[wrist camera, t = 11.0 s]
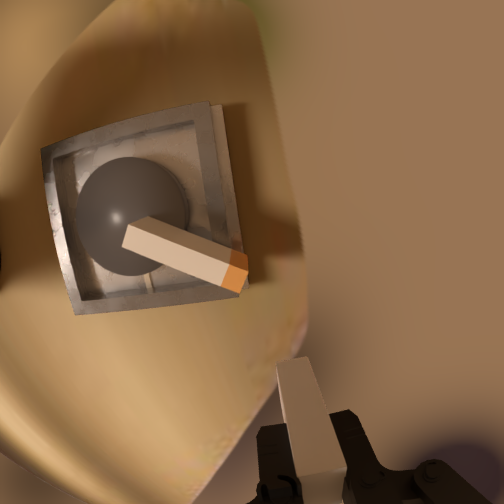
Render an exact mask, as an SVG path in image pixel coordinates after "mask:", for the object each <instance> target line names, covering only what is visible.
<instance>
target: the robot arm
mask: <svg viewBox="0 0 504 504" xmlns="http://www.w3.org/2000/svg"><path fill="white" fill-rule="evenodd" d="M0 268H1V256H0ZM276 370H277V377H278V385H279V393H280V400H281V407H282V412H283V418H284V423H283V424H276V425H269V426H262V427H261V428H260V430H259V432H258V434H257V436H256V438H257V451H258V465H259V478H260V482H259V483H258V484H257V489H256V492H257V496H256V497H255V499H253V500H252V501H250V502H249V503H247V504H340V503H342V499H343V502H344V504H492V503H491V502H490V501H488V500H487V499H486V498H485V497H484V496H483V495H482V494H480V493H479V492H478V491H477V490H476V489H475V488H474V487H472V486H471V485H470V484H469V483H468V482H467V481H466V480H464V479H463V478H462V477H461V476H460V475H459V474H458V473H457V472H456V471H455V470H453V469H452V468H451V467H450V466H449V465H448V464H447V463H445V462H443V461H442V460H437V459H432V460H427V461H425V462H422V463H421V464H420V465H419V466H418V467H417V468H416V469H414V470H403V471H393V470H389V469H387V468H385V467H383V466H382V465H381V464H380V463H379V461H378V460H377V458H376V456H375V453H374V451H373V449H372V447H371V444H370V442H369V440H368V438H367V436H366V435H365V432H364V430H363V428H362V425H361V423H360V421H359V418H358V416H356V415H355V414H354V413H353V412H352V411H350V410H349V409H348V410H344V411H340V412H336V413H332V414H328V411H327V408H326V406H325V403H324V400H323V397H322V395H321V392H320V389H319V386H318V384H317V381H316V378H315V375H314V373H313V370H312V367H311V364H310V362H309V359H308V357H302V358H296V359H290V360H284V361H278V362H276Z"/></svg>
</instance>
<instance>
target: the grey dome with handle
mask: <svg viewBox="0 0 504 504" xmlns="http://www.w3.org/2000/svg"><path fill="white" fill-rule="evenodd" d="M188 217H189V211H188V203H187V199H186V196H185V193H184V190H183V188H182V186H181V184H180V183H179V181H178V180H177V178H176V177H175V176H174V175H173V174H172V173H171V172H170V171H169V170H168V169H166V168H165V167H164V166H162V165H160V164H158V163H156V162H154V161H151V160H147V159H142V158H136V157H122V158H116V159H113V160H110V161H108V162H106V163H104V164H103V165H101V166H100V167H98V168H97V169H96V170H95V171H94V172H93V173H92V174H91V175H90V176H89V177H88V178H87V180H86V182H85V183H84V185H83V187H82V189H81V191H80V194H79V197H78V200H77V205H76V225H77V230H78V234H79V237H80V240H81V242H82V244H83V246H84V248H85V250H86V251H87V253H88V254H89V255H90V256H91V258H92V259H93V260H94V261H95V262H96V263H98V264H99V265H100V266H101V267H103V268H104V269H106V270H108V271H110V272H112V273H115V274H118V275H123V276H139V275H144V274H147V273H150V272H152V271H154V270H156V269H158V268H159V267H161V266H162V265H163V264H165V265H167V266H170V267H172V268H175V269H177V270H180V271H182V272H185V273H187V274H190V275H192V276H195V277H197V278H200V279H203V280H205V281H208V282H210V283H213V284H216V285H218V286H221V287H223V288H226V289H229V290H231V291H234V292H237V293H239V294H240V291H241V289H242V287H243V284H244V282H245V279H246V277H247V275H248V272H249V269H248V256H247V255H246V254H243V253H241V252H238V251H236V250H233V249H230V248H228V247H225V246H223V245H220V244H218V243H215V242H213V241H210V240H207V239H205V238H202V237H200V236H197V235H195V234H192V233H190V232H187V231H186V230H187V226H188Z"/></svg>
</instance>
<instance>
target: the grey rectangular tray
mask: <svg viewBox="0 0 504 504" xmlns="http://www.w3.org/2000/svg"><path fill="white" fill-rule="evenodd" d="M122 157H136V158H142V159H147V160H151V161H154V162H156V163H158V164H160V165H162V166H164V167H165V168H166V169H168V170H169V171H170V172H171V173H172V174H173V175H174V176H175V177H176V178H177V180H178V181H179V183H180V184H181V186H182V188H183V190H184V193H185V196H186V199H187V203H188V211H189V217H188V226H187V230H186V231H187V232H190V233H192V234H195V235H197V236H200V237H202V238H205V239H207V240H210V241H213V242H215V243H218V244H220V245H223V246H225V247H228V248H230V249H233V250H236V251H238V252H241V253H243V254H244V250H243V243H242V237H241V230H240V223H239V217H238V210H237V204H236V197H235V190H234V184H233V177H232V170H231V164H230V157H229V150H228V143H227V137H226V130H225V123H224V116H223V109H222V104H220V105H214V106H211V105H210V103H209V101H205V102H199V103H194V104H189V105H184V106H179V107H174V108H170V109H165V110H161V111H157V112H153V113H149V114H145V115H141V116H137V117H133V118H130V119H126V120H122V121H119V122H116V123H112V124H109V125H106V126H102V127H99V128H96V129H93V130H90V131H87V132H84V133H81V134H78V135H76V136H73V137H70V138H67V139H65V140H62V141H59V142H57V143H54V144H52V145H49V146H47V147H44V148H42V149H41V159H42V169H43V177H44V185H45V192H46V199H47V205H48V211H49V216H50V222H51V227H52V232H53V237H54V241H55V246H56V250H57V254H58V258H59V262H60V266H61V270H62V274H63V277H64V281H65V285H66V288H67V291H68V295H69V298H70V301H71V304H72V307H73V311H74V314H75V315H85V314H96V313H108V312H118V311H128V310H138V309H147V308H156V307H165V306H174V305H182V304H190V303H198V302H206V301H214V300H221V299H229V298H236V297H239V293H237V292H234V291H231V290H229V289H226V288H223V287H221V286H218V285H216V284H213V283H210V282H208V281H205V280H203V279H200V278H197V277H195V276H192V275H190V274H187V273H185V272H182V271H180V270H177V269H175V268H172V267H170V266H167V265H165V264H163V265H162V266H161V267H159V268H158V269H156V270H154V271H152V272H150V273H147V274H144V275H139V276H123V275H118V274H115V273H112V272H110V271H108V270H106V269H104V268H103V267H101V266H100V265H99V264H98V263H96V262H95V261H94V260H93V259H92V258H91V256H90V255H89V254H88V253H87V251H86V250H85V248H84V246H83V244H82V242H81V240H80V237H79V234H78V230H77V225H76V205H77V200H78V197H79V194H80V191H81V189H82V187H83V185H84V183H85V182H86V180H87V178H88V177H89V176H90V175H91V174H92V173H93V172H94V171H95V170H96V169H97V168H98V167H100V166H101V165H103V164H104V163H106V162H108V161H110V160H113V159H116V158H122ZM247 288H249V282H248V275H247V277H246V279H245V282H244V284H243V287H242V289H247Z"/></svg>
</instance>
